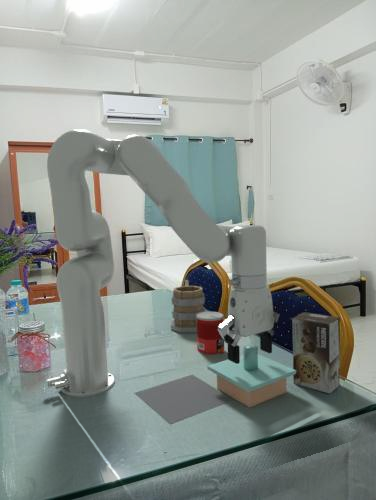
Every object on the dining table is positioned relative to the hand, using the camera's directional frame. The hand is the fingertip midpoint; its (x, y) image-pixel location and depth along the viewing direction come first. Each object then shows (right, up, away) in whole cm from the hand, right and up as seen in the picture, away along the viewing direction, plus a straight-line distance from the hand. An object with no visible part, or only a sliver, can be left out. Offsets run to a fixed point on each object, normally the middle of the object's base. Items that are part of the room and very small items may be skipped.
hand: (250, 356), depth 87 cm
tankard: (-13, -3, +54) cm, 56 cm away
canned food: (-7, -6, +27) cm, 29 cm away
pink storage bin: (0, -9, +1) cm, 8 cm away
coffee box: (+16, -8, +4) cm, 18 cm away
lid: (0, -4, 0) cm, 4 cm away
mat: (-15, -9, -1) cm, 18 cm away
